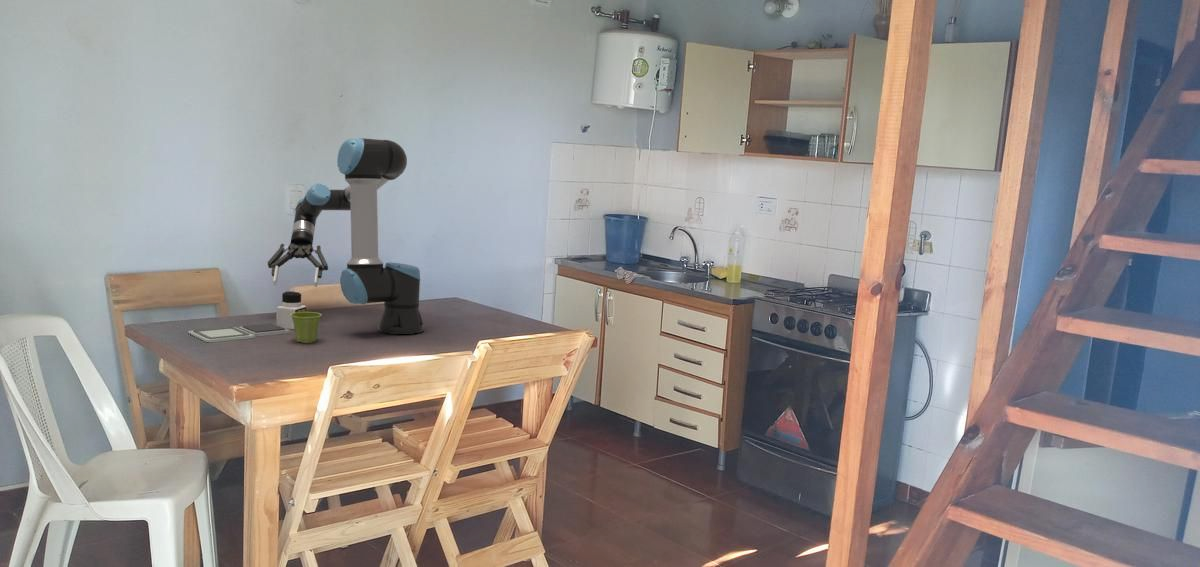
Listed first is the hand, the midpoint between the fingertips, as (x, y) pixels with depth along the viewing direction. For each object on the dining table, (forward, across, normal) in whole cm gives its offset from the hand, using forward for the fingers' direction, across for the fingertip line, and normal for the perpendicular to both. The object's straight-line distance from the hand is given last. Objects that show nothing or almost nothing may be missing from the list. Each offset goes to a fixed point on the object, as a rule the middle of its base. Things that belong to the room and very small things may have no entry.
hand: (295, 284), depth 319 cm
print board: (+28, +18, +9) cm, 35 cm away
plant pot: (+31, -8, +12) cm, 35 cm away
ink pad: (+22, +7, +4) cm, 23 cm away
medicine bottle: (+16, 0, -3) cm, 16 cm away
